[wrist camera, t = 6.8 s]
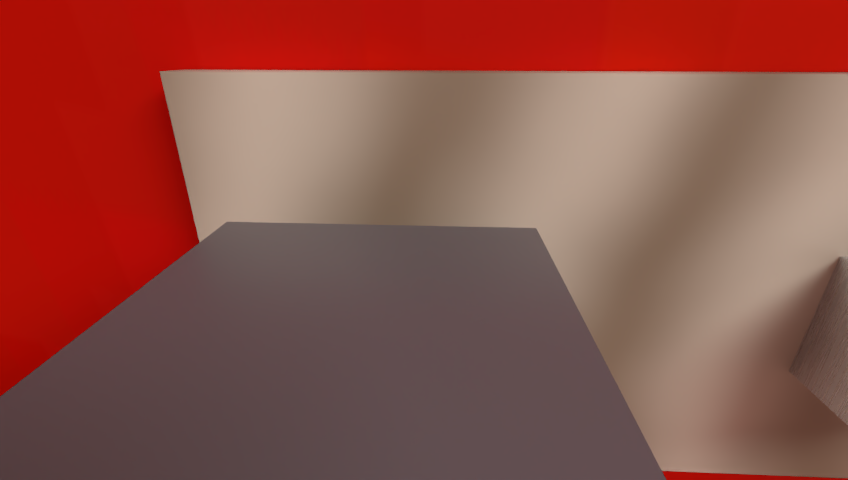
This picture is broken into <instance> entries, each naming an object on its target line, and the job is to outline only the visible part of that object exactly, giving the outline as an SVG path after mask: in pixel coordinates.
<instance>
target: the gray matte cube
mask: <svg viewBox="0 0 848 480" xmlns="http://www.w3.org/2000/svg"><path fill="white" fill-rule="evenodd" d="M0 480H666V478H665V476H664V474H663V472H662V470H661V468H660V467H659V465H658V463H657V461H656V459H655V457H654V455H653V453H652V451H651V449H650V447H649V445H648V443H647V441H646V439H645V438H644V436H643V434H642V432H641V430H640V428H639V426H638V424H637V422H636V420H635V418H634V416H633V414H632V412H631V410H630V409H629V407H628V405H627V403H626V401H625V399H624V397H623V395H622V393H621V391H620V389H619V387H618V385H617V383H616V381H615V380H614V378H613V376H612V374H611V372H610V370H609V368H608V366H607V364H606V362H605V360H604V358H603V356H602V354H601V352H600V351H599V349H598V347H597V345H596V343H595V341H594V339H593V337H592V335H591V333H590V331H589V329H588V327H587V325H586V323H585V322H584V320H583V318H582V316H581V314H580V312H579V310H578V308H577V306H576V304H575V302H574V300H573V298H572V296H571V294H570V293H569V291H568V289H567V287H566V285H565V283H564V281H563V279H562V277H561V275H560V273H559V271H558V269H557V267H556V265H555V263H554V262H553V260H552V258H551V256H550V254H549V252H548V250H547V248H546V246H545V244H544V242H543V240H542V238H541V236H540V234H539V233H538V231H537V229H536V228H509V227H461V226H412V225H364V224H315V223H267V222H226V223H224V224H223V225H222V226H221V227H219V228H218V229H217V230H215V231H214V232H213V233H212V234H210V235H209V236H208V237H206V238H205V239H204V240H202V241H201V242H200V243H199V244H197V245H196V246H195V247H193V248H192V249H191V250H189V251H188V252H187V253H186V254H184V255H183V256H182V257H180V258H179V259H178V260H177V261H175V262H174V263H173V264H171V265H170V266H169V267H167V268H166V269H165V270H164V271H162V272H161V273H160V274H158V275H157V276H156V277H155V278H153V279H152V280H151V281H149V282H148V283H147V284H145V285H144V286H143V287H142V288H140V289H139V290H138V291H136V292H135V293H134V294H133V295H131V296H130V297H129V298H127V299H126V300H125V301H123V302H122V303H121V304H120V305H118V306H117V307H116V308H114V309H113V310H112V311H111V312H109V313H108V314H107V315H105V316H104V317H103V318H101V319H100V320H99V321H98V322H96V323H95V324H94V325H92V326H91V327H90V328H89V329H87V330H86V331H85V332H83V333H82V334H81V335H79V336H78V337H77V338H76V339H74V340H73V341H72V342H70V343H69V344H68V345H67V346H65V347H64V348H63V349H61V350H60V351H59V352H57V353H56V354H55V355H54V356H52V357H51V358H50V359H48V360H47V361H46V362H45V363H43V364H42V365H41V366H39V367H38V368H37V369H35V370H34V371H33V372H32V373H30V374H29V375H28V376H26V377H25V378H24V379H23V380H21V381H20V382H19V383H17V384H16V385H15V386H13V387H12V388H11V389H10V390H8V391H7V392H6V393H4V394H3V395H2V396H1V397H0Z"/></svg>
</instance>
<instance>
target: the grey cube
mask: <svg viewBox="0 0 848 480" xmlns="http://www.w3.org/2000/svg"><path fill="white" fill-rule="evenodd" d="M789 372H790V373H791V374H792V375H794V376H795V377H796V378H797V379H798V380H799V381H800V382H801V383H802V384H803V385H804V386H805V387H807V388H808V389H809V390H810V391H811V392H812V393H813V394H814V395H815V396H816V397H817V398H818V399H820V400H821V401H822V402H823V403H824V404H825V405H826V406H827V407H828V408H829V409H830V410H831V411H833V412H834V413H835V414H836V415H837V416H838V417H839V418H840V419H841V420H842V421H843V422H844V423H846V424H847V425H848V257H841V256H840V257H839V260H838V262H837V264H836V266H835V269H834V271H833V273H832V275H831V278H830V280H829V282H828V284H827V287H826V289H825V291H824V293H823V296H822V298H821V300H820V302H819V305H818V307H817V309H816V311H815V314H814V316H813V318H812V320H811V323H810V325H809V327H808V329H807V332H806V334H805V336H804V338H803V341H802V343H801V345H800V347H799V350H798V352H797V354H796V356H795V359H794V361H793V363H792V365H791V368H790V370H789Z"/></svg>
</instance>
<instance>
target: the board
mask: <svg viewBox="0 0 848 480" xmlns="http://www.w3.org/2000/svg"><path fill="white" fill-rule="evenodd" d="M160 75H161V79H162V84H163V88H164V92H165V96H166V101H167V105H168V109H169V114H170V118H171V122H172V127H173V131H174V135H175V139H176V144H177V148H178V152H179V157H180V161H181V165H182V170H183V174H184V178H185V182H186V187H187V191H188V195H189V200H190V204H191V208H192V213H193V217H194V221H195V225H196V230H197V234H198V238H199V243H200V242H201V241H202V240H204V239H205V238H206V237H208V236H209V235H210V234H212V233H213V232H214V231H215V230H217V229H218V228H219V227H221V226H222V225H223V224H224V223H226V222H267V223H315V224H364V225H412V226H461V227H509V228H536V229H537V231H538V233H539V234H540V236H541V238H542V240H543V242H544V244H545V246H546V248H547V250H548V252H549V254H550V256H551V258H552V260H553V262H554V263H555V265H556V267H557V269H558V271H559V273H560V275H561V277H562V279H563V281H564V283H565V285H566V287H567V289H568V291H569V293H570V294H571V296H572V298H573V300H574V302H575V304H576V306H577V308H578V310H579V312H580V314H581V316H582V318H583V320H584V322H585V323H586V325H587V327H588V329H589V331H590V333H591V335H592V337H593V339H594V341H595V343H596V345H597V347H598V349H599V351H600V352H601V354H602V356H603V358H604V360H605V362H606V364H607V366H608V368H609V370H610V372H611V374H612V376H613V378H614V380H615V381H616V383H617V385H618V387H619V389H620V391H621V393H622V395H623V397H624V399H625V401H626V403H627V405H628V407H629V409H630V410H631V412H632V414H633V416H634V418H635V420H636V422H637V424H638V426H639V428H640V430H641V432H642V434H643V436H644V438H645V439H646V441H647V443H648V445H649V447H650V449H651V451H652V453H653V455H654V457H655V459H656V461H657V463H658V465H659V467H660V468H661V470H662V471H677V472H703V473H728V474H753V475H778V476H803V477H828V478H848V425H847V424H846V423H844V422H843V421H842V420H841V419H840V418H839V417H838V416H837V415H836V414H835V413H834V412H833V411H831V410H830V409H829V408H828V407H827V406H826V405H825V404H824V403H823V402H822V401H821V400H820V399H818V398H817V397H816V396H815V395H814V394H813V393H812V392H811V391H810V390H809V389H808V388H807V387H805V386H804V385H803V384H802V383H801V382H800V381H799V380H798V379H797V378H796V377H795V376H794V375H792V374H791V373H790V372H789V370H790V368H791V365H792V363H793V361H794V359H795V356H796V354H797V352H798V350H799V347H800V345H801V343H802V341H803V338H804V336H805V334H806V332H807V329H808V327H809V325H810V323H811V320H812V318H813V316H814V314H815V311H816V309H817V307H818V305H819V302H820V300H821V298H822V296H823V293H824V291H825V289H826V287H827V284H828V282H829V280H830V278H831V275H832V273H833V271H834V269H835V266H836V264H837V262H838V260H839V257H840V256H841V257H848V72H626V71H378V70H173V71H160Z"/></svg>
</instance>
